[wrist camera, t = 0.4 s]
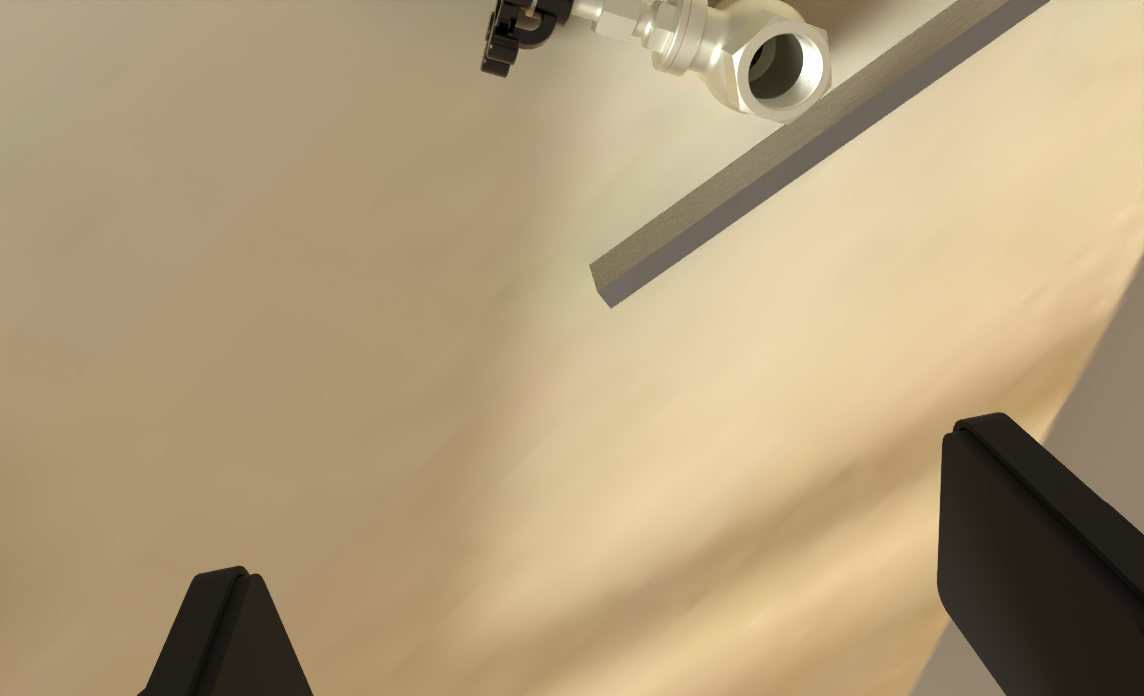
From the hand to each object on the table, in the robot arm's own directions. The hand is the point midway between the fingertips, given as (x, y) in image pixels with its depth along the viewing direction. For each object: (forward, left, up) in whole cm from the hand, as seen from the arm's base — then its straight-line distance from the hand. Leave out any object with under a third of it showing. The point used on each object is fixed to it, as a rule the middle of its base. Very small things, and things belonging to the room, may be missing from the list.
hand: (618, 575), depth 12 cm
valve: (-6, 0, -28) cm, 28 cm away
